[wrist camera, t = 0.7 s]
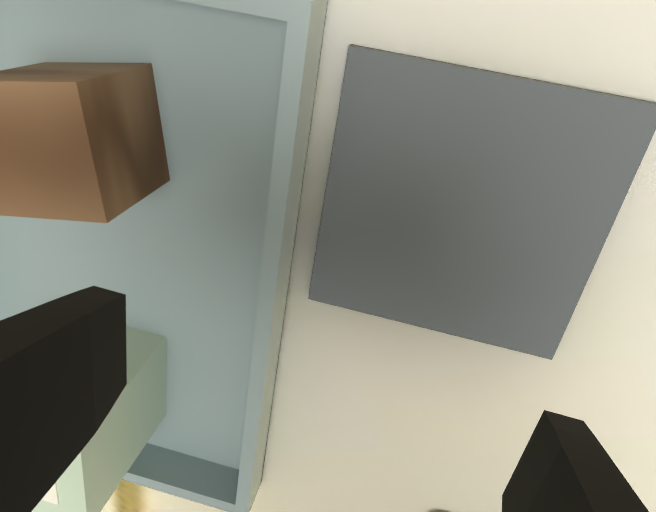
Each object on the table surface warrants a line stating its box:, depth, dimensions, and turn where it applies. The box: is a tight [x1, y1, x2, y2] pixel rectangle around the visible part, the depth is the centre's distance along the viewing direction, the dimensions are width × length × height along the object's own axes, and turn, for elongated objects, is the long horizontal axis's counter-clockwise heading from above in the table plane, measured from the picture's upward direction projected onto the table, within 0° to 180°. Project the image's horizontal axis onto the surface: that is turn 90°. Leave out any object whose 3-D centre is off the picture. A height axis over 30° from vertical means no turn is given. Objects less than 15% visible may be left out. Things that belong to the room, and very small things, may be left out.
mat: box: [308, 44, 656, 360], centre depth 18 cm, size 9×9×1 cm
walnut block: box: [0, 62, 170, 223], centre depth 17 cm, size 4×4×4 cm
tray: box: [0, 0, 328, 512], centre depth 21 cm, size 21×14×2 cm
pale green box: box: [32, 326, 167, 512], centre depth 21 cm, size 4×4×6 cm
